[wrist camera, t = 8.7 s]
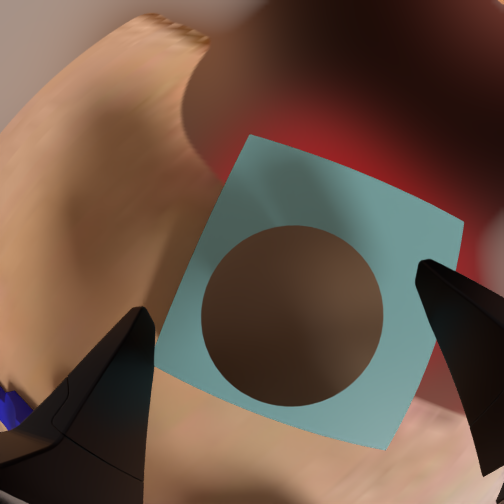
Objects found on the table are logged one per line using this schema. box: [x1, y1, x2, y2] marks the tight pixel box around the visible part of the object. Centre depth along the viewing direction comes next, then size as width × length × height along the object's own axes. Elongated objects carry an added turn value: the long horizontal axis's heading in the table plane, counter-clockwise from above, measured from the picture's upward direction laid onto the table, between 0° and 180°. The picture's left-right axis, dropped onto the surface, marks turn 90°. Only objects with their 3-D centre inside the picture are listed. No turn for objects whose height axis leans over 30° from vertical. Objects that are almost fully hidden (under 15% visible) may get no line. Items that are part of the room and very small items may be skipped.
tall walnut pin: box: [201, 225, 383, 407], centre depth 12 cm, size 4×4×12 cm
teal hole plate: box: [154, 135, 464, 450], centre depth 17 cm, size 15×15×4 cm
